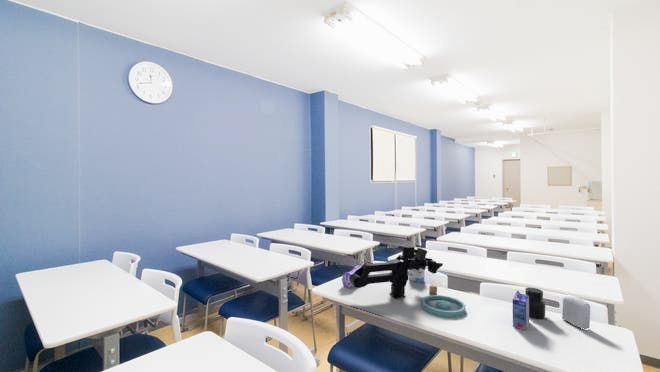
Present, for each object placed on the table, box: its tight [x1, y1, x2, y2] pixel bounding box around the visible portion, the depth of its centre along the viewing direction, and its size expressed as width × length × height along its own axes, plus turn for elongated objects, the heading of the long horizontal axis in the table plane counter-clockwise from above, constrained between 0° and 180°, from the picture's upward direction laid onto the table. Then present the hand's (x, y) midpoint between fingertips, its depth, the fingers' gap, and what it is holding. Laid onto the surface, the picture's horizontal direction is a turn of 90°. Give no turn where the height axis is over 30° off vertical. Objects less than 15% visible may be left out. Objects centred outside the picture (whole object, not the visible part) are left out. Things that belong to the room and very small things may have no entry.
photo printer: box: [561, 294, 591, 330], centre depth 132 cm, size 10×4×12 cm, turn 11°
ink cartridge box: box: [512, 289, 530, 331], centre depth 132 cm, size 10×6×14 cm, turn 141°
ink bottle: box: [524, 287, 546, 320], centre depth 141 cm, size 10×9×12 cm
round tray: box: [421, 294, 466, 318], centre depth 148 cm, size 20×20×2 cm
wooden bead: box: [428, 284, 438, 296], centre depth 165 cm, size 4×4×4 cm
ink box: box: [408, 258, 425, 284], centre depth 187 cm, size 8×5×15 cm, turn 39°
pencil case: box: [341, 263, 363, 289], centre depth 182 cm, size 22×9×10 cm, turn 155°
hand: (437, 262), depth 170 cm, fingers open, 9 cm apart
